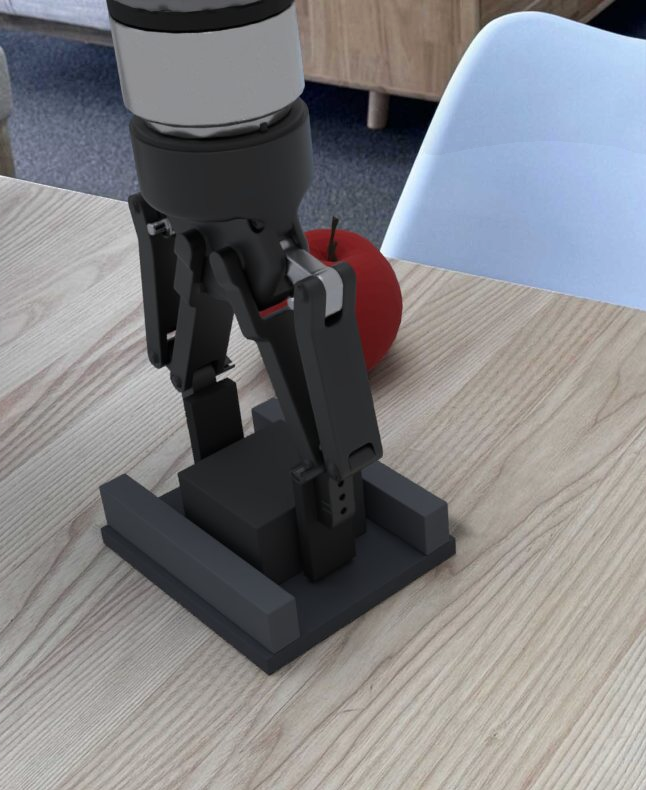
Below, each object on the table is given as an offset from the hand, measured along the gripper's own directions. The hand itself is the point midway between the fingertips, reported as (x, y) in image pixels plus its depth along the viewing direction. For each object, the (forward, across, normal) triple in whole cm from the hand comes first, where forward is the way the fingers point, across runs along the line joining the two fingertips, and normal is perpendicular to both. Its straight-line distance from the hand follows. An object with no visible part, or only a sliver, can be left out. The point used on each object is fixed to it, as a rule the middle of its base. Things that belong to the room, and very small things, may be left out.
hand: (276, 527), depth 71 cm
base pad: (+1, 0, 0) cm, 1 cm away
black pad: (0, 0, 0) cm, 0 cm away
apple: (+2, +12, -13) cm, 18 cm away
